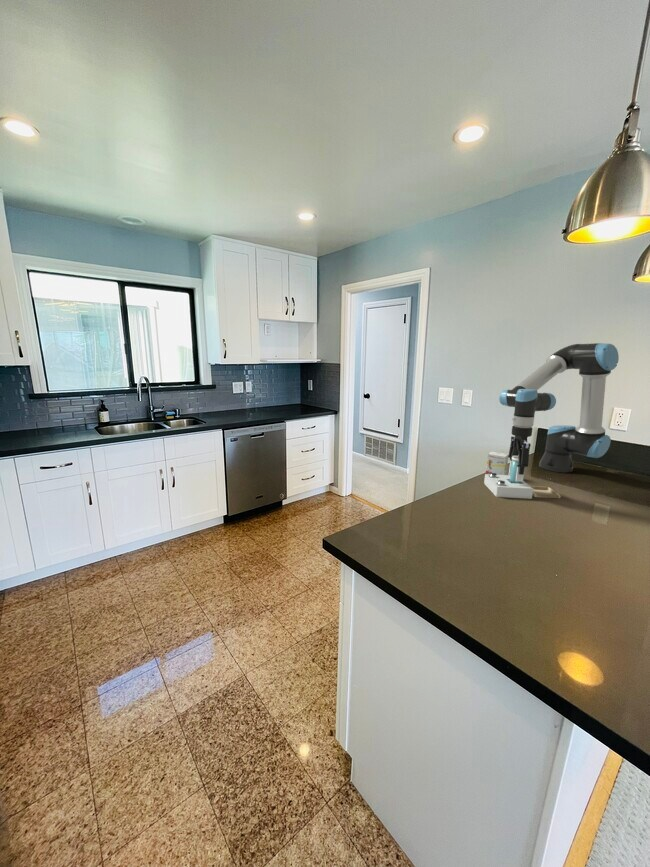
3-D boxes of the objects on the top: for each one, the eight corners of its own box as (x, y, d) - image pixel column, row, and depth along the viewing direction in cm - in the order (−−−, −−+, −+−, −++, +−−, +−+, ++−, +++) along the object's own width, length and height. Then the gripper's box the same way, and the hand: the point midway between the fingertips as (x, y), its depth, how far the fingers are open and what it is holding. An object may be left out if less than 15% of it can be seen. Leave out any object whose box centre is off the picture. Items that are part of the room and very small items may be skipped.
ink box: (484, 476, 174) (487, 453, 171) (487, 473, 177) (490, 451, 175) (503, 480, 168) (506, 456, 166) (505, 477, 172) (508, 454, 169)
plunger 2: (495, 491, 150) (497, 480, 149) (502, 492, 150) (503, 480, 149) (498, 494, 148) (499, 482, 147) (504, 494, 148) (506, 482, 146)
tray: (524, 489, 156) (524, 485, 156) (548, 490, 155) (548, 486, 155) (534, 498, 147) (535, 494, 146) (560, 499, 145) (560, 495, 145)
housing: (483, 484, 162) (485, 474, 161) (515, 486, 160) (517, 475, 159) (496, 498, 147) (497, 486, 145) (531, 499, 145) (533, 488, 144)
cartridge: (505, 488, 156) (510, 454, 152) (517, 489, 155) (522, 454, 152) (510, 492, 151) (514, 457, 148) (521, 493, 150) (526, 457, 147)
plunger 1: (488, 483, 160) (489, 472, 159) (494, 483, 160) (495, 472, 159) (490, 485, 158) (491, 474, 156) (496, 485, 157) (497, 474, 156)
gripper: (504, 421, 157) (498, 470, 162) (523, 430, 138) (515, 485, 143) (521, 422, 156) (515, 471, 161) (543, 431, 137) (535, 486, 142)
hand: (515, 478), depth 152 cm, fingers open, 7 cm apart
